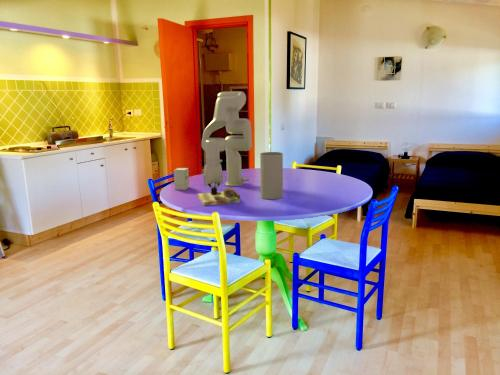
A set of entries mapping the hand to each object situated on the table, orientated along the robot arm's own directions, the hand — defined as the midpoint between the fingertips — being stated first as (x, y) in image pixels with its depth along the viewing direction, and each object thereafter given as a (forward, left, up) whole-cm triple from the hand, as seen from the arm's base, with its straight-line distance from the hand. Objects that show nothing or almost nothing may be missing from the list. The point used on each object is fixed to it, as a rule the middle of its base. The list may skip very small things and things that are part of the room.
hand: (214, 194), depth 231 cm
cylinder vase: (-32, +5, -3) cm, 33 cm away
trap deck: (-2, 0, -3) cm, 4 cm away
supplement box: (+14, -35, -3) cm, 38 cm away
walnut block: (-8, +1, -1) cm, 8 cm away
